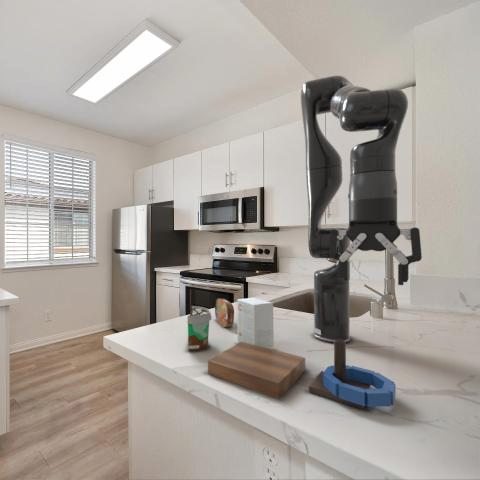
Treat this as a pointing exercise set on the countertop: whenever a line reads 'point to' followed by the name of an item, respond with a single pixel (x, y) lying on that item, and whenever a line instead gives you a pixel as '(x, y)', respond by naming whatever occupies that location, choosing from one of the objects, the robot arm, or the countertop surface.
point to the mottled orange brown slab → (224, 312)
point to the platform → (258, 368)
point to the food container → (198, 328)
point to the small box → (255, 322)
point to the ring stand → (337, 375)
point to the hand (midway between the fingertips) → (372, 282)
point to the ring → (370, 397)
